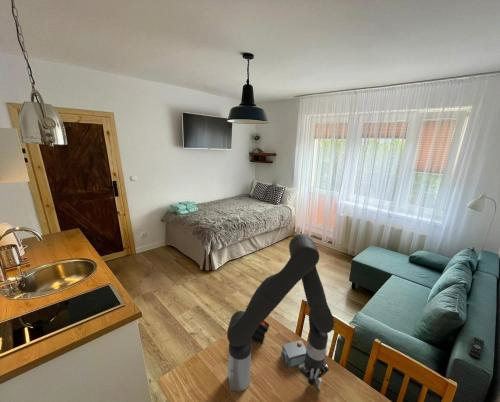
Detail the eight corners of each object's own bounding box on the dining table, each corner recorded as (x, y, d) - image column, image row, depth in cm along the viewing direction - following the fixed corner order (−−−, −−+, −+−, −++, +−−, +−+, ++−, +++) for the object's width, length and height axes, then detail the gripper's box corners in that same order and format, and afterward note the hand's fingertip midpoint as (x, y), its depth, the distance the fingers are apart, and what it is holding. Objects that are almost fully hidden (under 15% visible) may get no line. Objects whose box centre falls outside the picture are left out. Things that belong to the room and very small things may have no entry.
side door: (321, 389, 94) (322, 380, 93) (318, 389, 94) (319, 381, 93) (310, 362, 106) (311, 354, 104) (307, 362, 106) (308, 354, 104)
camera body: (285, 369, 102) (286, 357, 101) (279, 354, 109) (279, 344, 107) (307, 362, 106) (308, 351, 104) (300, 349, 112) (301, 338, 110)
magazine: (239, 328, 122) (251, 311, 116) (260, 343, 119) (273, 326, 114) (236, 333, 118) (249, 316, 113) (257, 349, 116) (271, 332, 110)
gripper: (302, 360, 87) (298, 392, 92) (335, 359, 88) (329, 392, 92) (297, 343, 94) (293, 374, 99) (328, 343, 95) (322, 373, 100)
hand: (311, 382), depth 96 cm, fingers closed
